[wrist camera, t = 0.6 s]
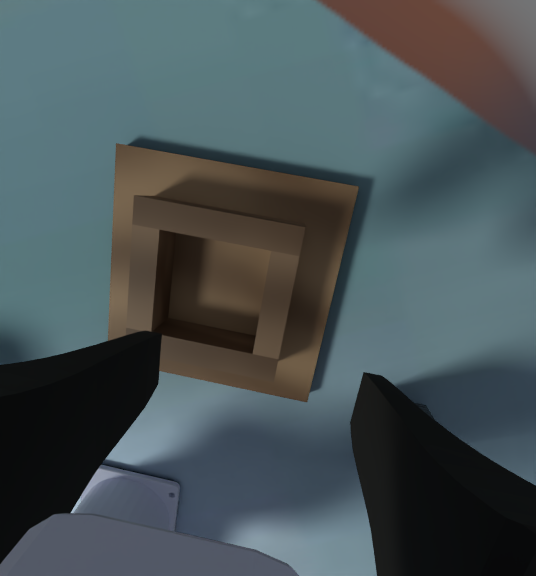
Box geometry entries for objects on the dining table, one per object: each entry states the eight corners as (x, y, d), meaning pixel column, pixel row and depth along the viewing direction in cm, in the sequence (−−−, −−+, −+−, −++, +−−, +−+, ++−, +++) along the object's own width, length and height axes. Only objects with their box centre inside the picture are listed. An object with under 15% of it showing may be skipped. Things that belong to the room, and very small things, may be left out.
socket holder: (306, 393, 23) (307, 427, 20) (115, 353, 24) (84, 378, 20) (356, 187, 19) (367, 184, 16) (125, 146, 20) (88, 135, 16)
